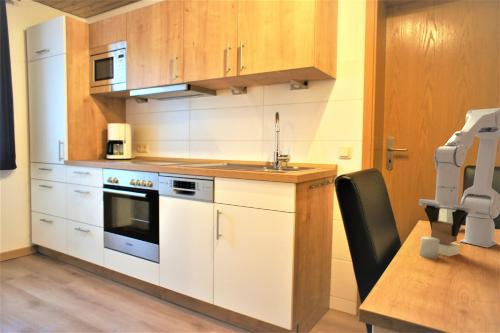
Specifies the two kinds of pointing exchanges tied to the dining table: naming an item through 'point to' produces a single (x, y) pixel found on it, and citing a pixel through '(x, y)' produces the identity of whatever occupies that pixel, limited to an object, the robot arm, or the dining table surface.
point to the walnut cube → (443, 231)
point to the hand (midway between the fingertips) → (444, 233)
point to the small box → (446, 215)
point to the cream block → (448, 248)
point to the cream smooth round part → (429, 247)
